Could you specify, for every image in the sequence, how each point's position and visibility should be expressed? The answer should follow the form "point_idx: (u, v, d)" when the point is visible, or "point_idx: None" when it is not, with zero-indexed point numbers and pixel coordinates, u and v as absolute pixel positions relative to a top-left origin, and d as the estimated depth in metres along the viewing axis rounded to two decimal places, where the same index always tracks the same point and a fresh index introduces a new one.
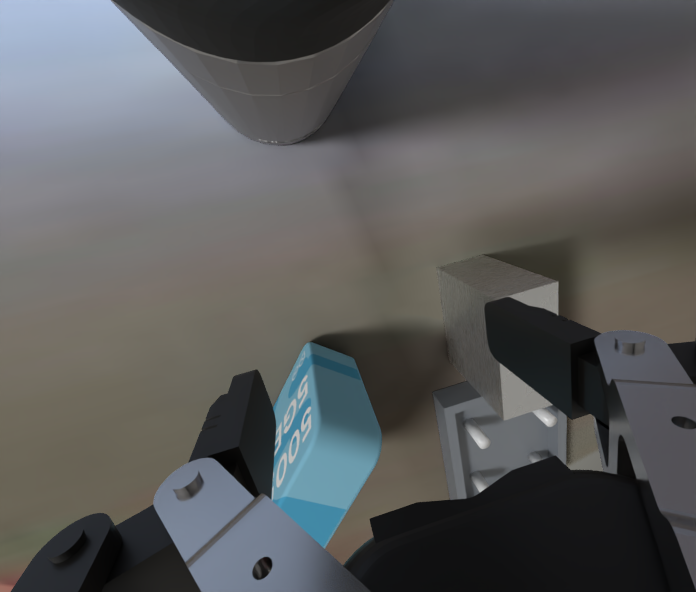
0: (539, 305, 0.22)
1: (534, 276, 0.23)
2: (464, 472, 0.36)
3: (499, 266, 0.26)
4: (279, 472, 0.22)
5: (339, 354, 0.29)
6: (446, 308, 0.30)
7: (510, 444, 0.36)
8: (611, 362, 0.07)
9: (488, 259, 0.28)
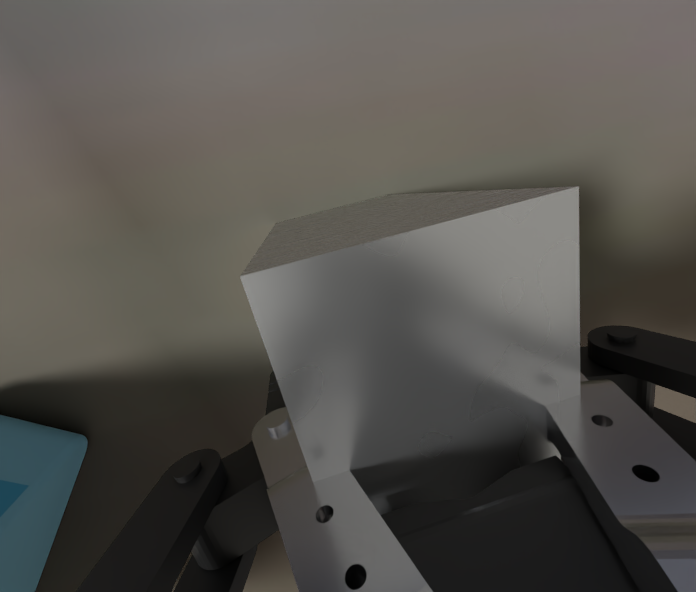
0: (490, 307, 0.05)
1: (479, 195, 0.06)
2: None
3: (399, 199, 0.09)
4: None
5: (19, 436, 0.11)
6: None
7: None
8: None
9: (389, 197, 0.11)
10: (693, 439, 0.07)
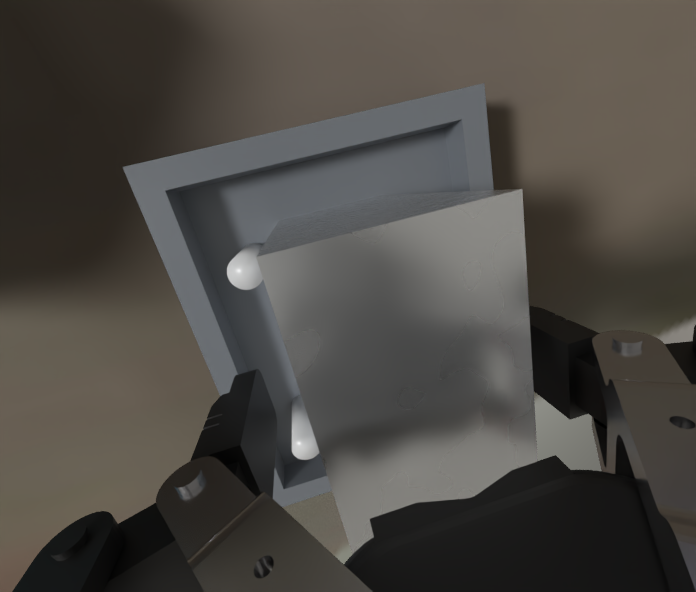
0: (454, 285, 0.06)
1: (452, 195, 0.07)
2: (274, 395, 0.16)
3: (389, 199, 0.10)
4: None
5: None
6: None
7: None
8: (609, 362, 0.07)
9: (382, 197, 0.12)
10: None
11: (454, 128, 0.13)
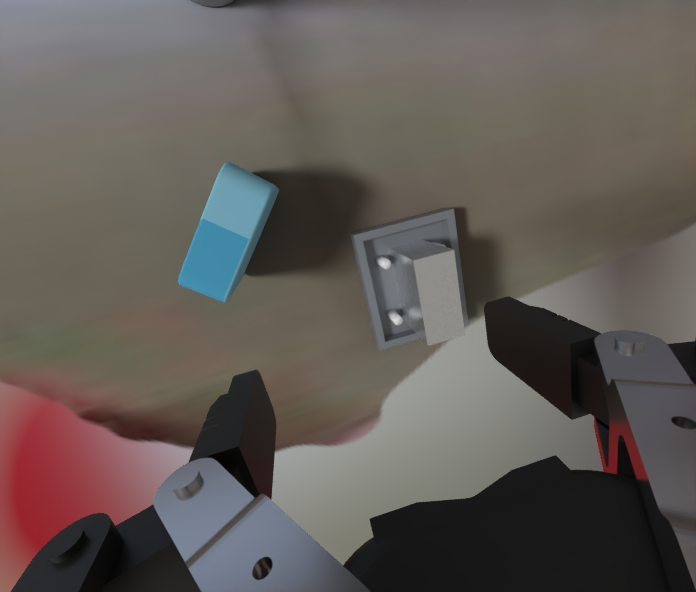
0: (443, 265, 0.34)
1: (443, 248, 0.35)
2: (381, 309, 0.44)
3: (427, 245, 0.39)
4: None
5: None
6: (396, 277, 0.42)
7: None
8: (611, 362, 0.07)
9: (423, 241, 0.41)
10: None
11: (445, 219, 0.41)
